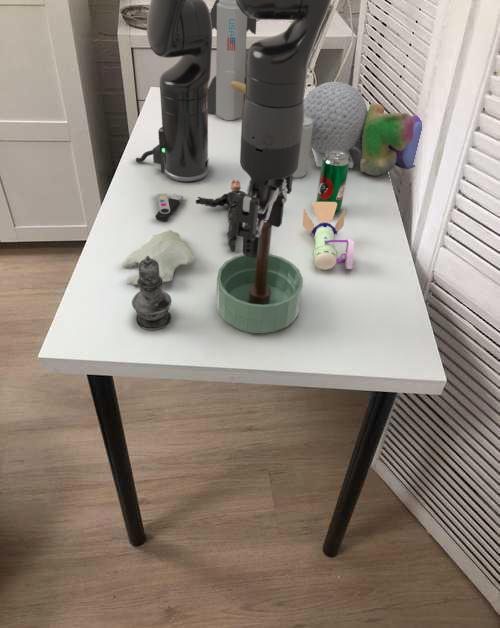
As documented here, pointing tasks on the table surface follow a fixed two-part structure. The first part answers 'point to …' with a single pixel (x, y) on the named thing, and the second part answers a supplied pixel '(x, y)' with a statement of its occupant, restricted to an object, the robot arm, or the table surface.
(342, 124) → the decorative ball
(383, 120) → the sculpture
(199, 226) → the table surface
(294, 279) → the bowl
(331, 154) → the soda can
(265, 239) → the muddler
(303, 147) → the beverage can
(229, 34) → the rocket model
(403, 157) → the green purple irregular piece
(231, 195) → the action figure
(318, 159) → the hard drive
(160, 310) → the chess piece
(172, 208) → the usb flash drive
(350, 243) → the spotlight
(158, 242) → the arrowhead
